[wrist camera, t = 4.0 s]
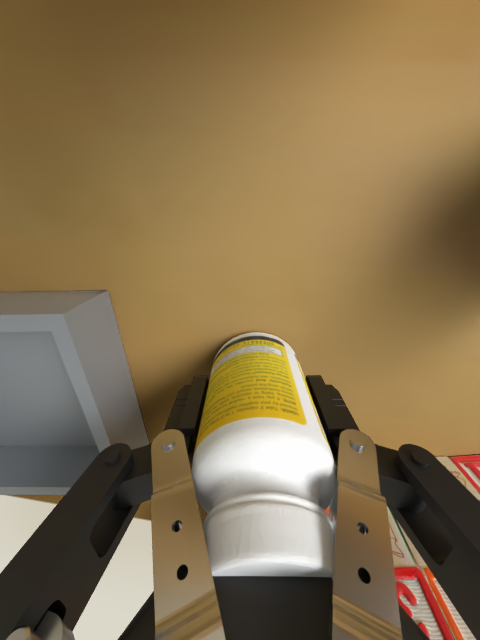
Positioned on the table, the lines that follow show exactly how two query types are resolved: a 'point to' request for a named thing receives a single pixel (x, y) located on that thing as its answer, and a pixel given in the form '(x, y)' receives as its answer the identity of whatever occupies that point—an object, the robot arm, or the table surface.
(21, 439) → the box
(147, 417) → the table surface
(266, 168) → the table surface
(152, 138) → the table surface
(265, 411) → the supplement bottle
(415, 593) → the stack of blocks
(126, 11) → the table surface
